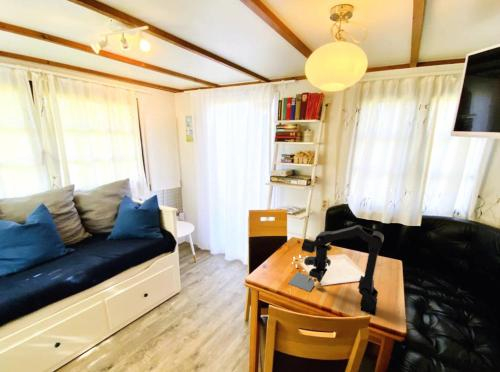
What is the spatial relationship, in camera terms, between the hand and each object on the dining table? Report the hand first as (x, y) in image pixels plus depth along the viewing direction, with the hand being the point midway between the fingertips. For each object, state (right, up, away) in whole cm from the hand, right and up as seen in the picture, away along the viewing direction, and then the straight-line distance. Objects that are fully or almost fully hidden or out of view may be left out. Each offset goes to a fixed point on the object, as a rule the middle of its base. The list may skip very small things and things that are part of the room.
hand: (319, 281), depth 127 cm
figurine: (+1, -5, +1) cm, 5 cm away
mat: (-7, -4, +9) cm, 12 cm away
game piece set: (0, -1, +29) cm, 29 cm away
